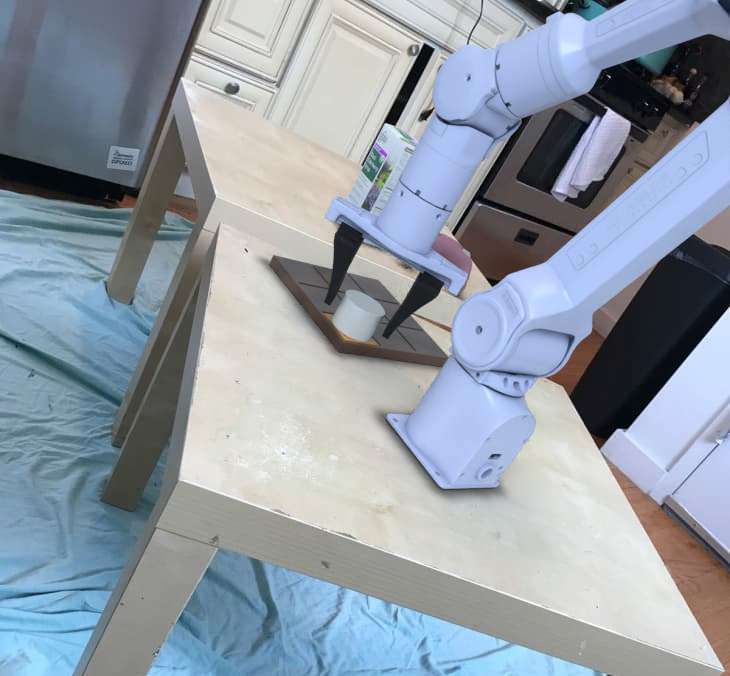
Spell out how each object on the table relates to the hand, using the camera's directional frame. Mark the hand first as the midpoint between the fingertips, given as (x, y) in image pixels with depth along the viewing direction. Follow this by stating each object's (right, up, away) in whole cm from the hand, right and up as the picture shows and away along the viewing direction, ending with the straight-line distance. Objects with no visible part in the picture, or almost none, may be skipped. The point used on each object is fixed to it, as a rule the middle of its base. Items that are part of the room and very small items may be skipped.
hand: (357, 318), depth 75 cm
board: (0, +2, +8) cm, 8 cm away
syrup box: (0, +19, +31) cm, 36 cm away
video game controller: (+10, +13, +33) cm, 37 cm away
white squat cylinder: (-1, -1, +1) cm, 1 cm away
